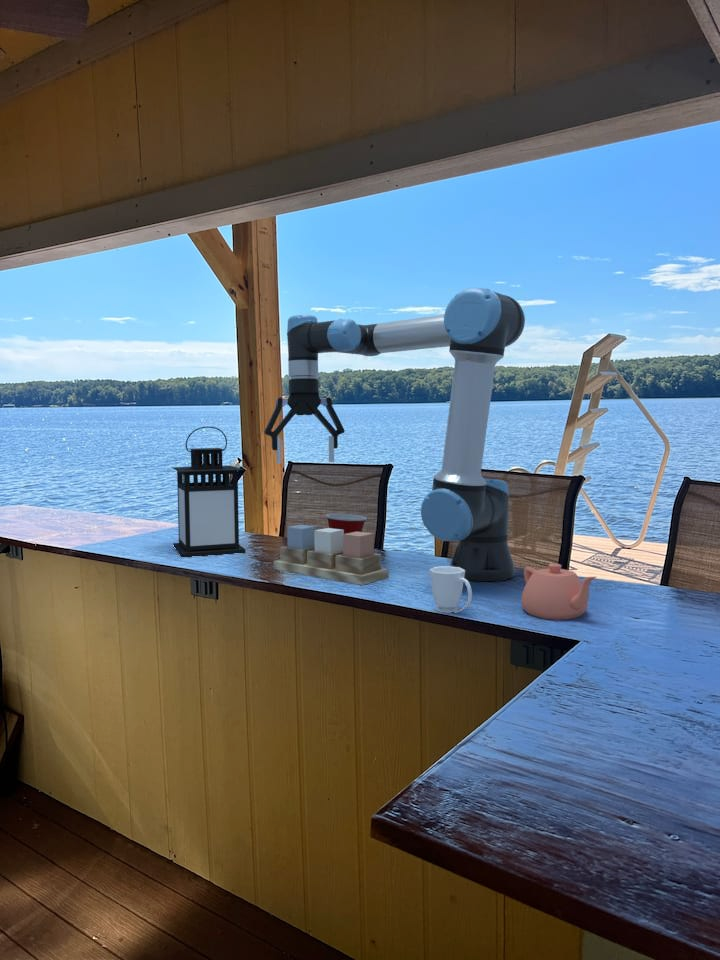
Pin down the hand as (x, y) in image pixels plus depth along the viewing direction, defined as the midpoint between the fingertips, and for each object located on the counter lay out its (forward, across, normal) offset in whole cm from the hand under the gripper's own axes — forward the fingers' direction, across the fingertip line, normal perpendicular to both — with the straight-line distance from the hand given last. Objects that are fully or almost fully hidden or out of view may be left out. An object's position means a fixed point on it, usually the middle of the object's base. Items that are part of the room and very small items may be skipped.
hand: (305, 462), depth 187 cm
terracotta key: (+22, -8, +20) cm, 31 cm away
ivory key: (+22, -3, +13) cm, 25 cm away
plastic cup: (+26, -11, -2) cm, 29 cm away
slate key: (+22, +2, +5) cm, 22 cm away
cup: (+27, -19, +53) cm, 62 cm away
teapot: (+28, -38, +59) cm, 75 cm away
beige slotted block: (+26, -3, +12) cm, 29 cm away
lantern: (+26, +24, -26) cm, 44 cm away
